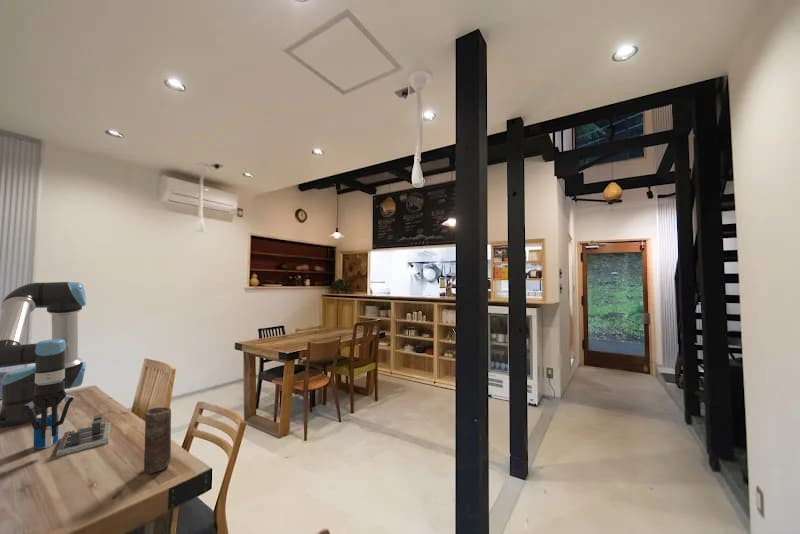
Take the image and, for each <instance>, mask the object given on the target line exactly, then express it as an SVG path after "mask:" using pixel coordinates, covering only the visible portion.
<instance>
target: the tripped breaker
mask: <svg viewBox="0 0 800 534" xmlns="http://www.w3.org/2000/svg"><path fill="white" fill-rule="evenodd" d="M81 429H82V428H77V429H75V430H73V429H72V430H71V431H72V432H71V444H70V445H72V444H76V443H80V439H81Z"/></svg>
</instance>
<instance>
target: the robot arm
mask: <svg viewBox="0 0 800 534" xmlns="http://www.w3.org/2000/svg"><path fill="white" fill-rule="evenodd" d="M86 298H87V297H86V291H85V287H84V285H83V283H81V282H79V281H78V282H77V281H76V282H75V281H74V282H73V281H58V282H57V281H56V282H54V281H52V282H50V281H49V282H41V281H40V282H32V283H27V284H24V285H22V286H19V287H17V288H15V289H14V290H13V291H10V292H9V293H8V294H7V295H6V296H5V297H4V299H3V300H2V303H1V304H0V307H1V310H2V313H1V316H0V369H1V368H7V367H17V366H24V365H31V364H34V365H31V366H26V367H22V368H19V369H14V370H12V371H9V372H7V373H5V374H4V375H3V377H2V383H1V386H2V388H1V389H2V390H1V395H2V396H1V407H0V427H2V428H3V426H5V427H11V426H18V425H23V424H26V423H31V426H32V429H33V431H34V430H41V438H42V439H44V438H45V448H46V449H47V448H50V447H52V446H53V445H52V444H53V436H56V434H57V426H58V427H59V426H61V425H63V424H64V421H65V419H66V416H67V414H68V411H69V408H70V404H71V403H72V402H73V401H74V398H75V396H74V395H67V392H66V391H65V390H70V389H75V388H77V387H80V386H81V385H82V384H83V382H84V376H85V371H86V366H87V363H86V362H83V359H82V358H81V357H78V355H79V353H78V349H79V348H78V347H79V346H78V336H79V335H78V328H79V327H78V323H79V322H78V318H79V317H78V314H79V312H80V311H81V310H82V309H83V307H84V306H86V305H87V299H86ZM44 308H45V309H46V312H47V313H49V314H51V339H46V340H41V341H40V340H39V341H38V342H36V343H28V344H26V343H25V344H23V342H24V339H25V335H26V332H27V327H28V323H29V320H30V317H31V316H30V315H31V313H32V312H33V311H35V310H36V309H44ZM63 400H64V402H65V403H64V406H63V410H62V413H61V415H60V418H59V421H58V422H57V414H58V410H59V409H58V407H59V405H60V403H62V401H63ZM49 408H51V409H50V410H51V412H52V424H51V427H47V412H49V411H48V409H49ZM40 414H41V425H40V424H39V421H38V418H37V416H38V415H40ZM58 415H59V414H58ZM45 448H44V449H45Z"/></svg>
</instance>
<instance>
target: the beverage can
mask: <svg viewBox="0 0 800 534" xmlns="http://www.w3.org/2000/svg"><path fill="white" fill-rule="evenodd" d="M59 417H60V415H59V414H57V422H58V421H60V418H59ZM37 418H38V421H39V424H40V425H41V414H40V415H38V416H37ZM51 424H52V411H48V412H47V427H51ZM58 441H59V426H57V434H56V436H53V444H52V446H53V445H55V444H56V443H57V442H58ZM33 448H35V449H45V438H44V439H42V438H41V430H34V429H33Z"/></svg>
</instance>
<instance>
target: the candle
mask: <svg viewBox="0 0 800 534" xmlns="http://www.w3.org/2000/svg"><path fill="white" fill-rule="evenodd" d="M144 419H145V421H144V423H145V424H144V456H143V457H144V458H143V459H144V460H143V468H144V469H143V473H144V474H149V475H150V474H152V473H156V472H159V471H161V470H162V471H163V470H164V469H165V468H166V467H168V465H169V464H170V463H171V461H172V457H171V456H172V449H171V448H172V443H171V442H172V438H171V437H172V432H171V431H172V409H171V407H167V406H166V407H165V406H162V407H158V406H157V407H153V408H150V409H148V410H146V412H145V418H144Z"/></svg>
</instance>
